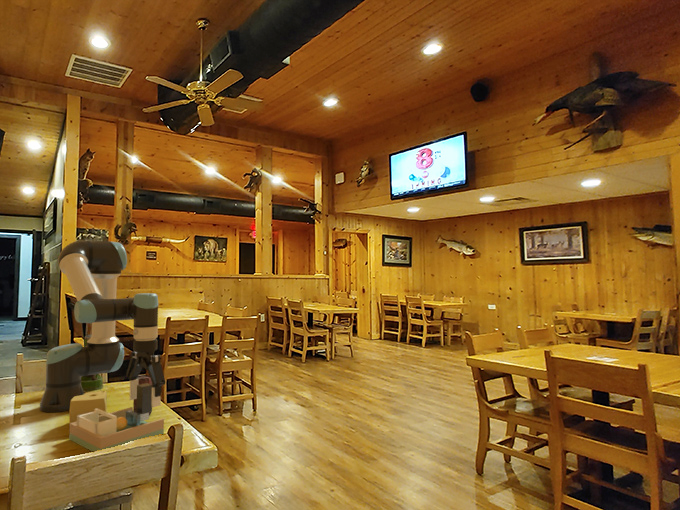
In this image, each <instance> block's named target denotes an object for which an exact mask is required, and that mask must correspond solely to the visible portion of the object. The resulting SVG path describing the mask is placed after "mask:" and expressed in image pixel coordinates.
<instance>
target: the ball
mask: <svg viewBox="0 0 680 510" xmlns="http://www.w3.org/2000/svg"><path fill="white" fill-rule="evenodd" d="M126 426H127V419H126V418H124V417H119V418H117V430H123V429H124V428H125V427H126Z"/></svg>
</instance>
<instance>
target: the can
mask: <svg viewBox="0 0 680 510" xmlns="http://www.w3.org/2000/svg"><path fill="white" fill-rule="evenodd" d="M138 379H139V382H138V385H141V384H145V383H148V384H151V385H152V386H153V383H152V381H151V378H150V376H149V374H148V375H138ZM132 408H133V412H136V410H137V399H134V400H133V407H132ZM136 413H137V412H136ZM150 415H152V412H149V417H150Z"/></svg>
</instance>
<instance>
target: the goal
mask: <svg viewBox="0 0 680 510" xmlns="http://www.w3.org/2000/svg"><path fill="white" fill-rule="evenodd" d="M110 413H111V412H107V411H106V412H105V411H103V410H100V409H98V408H96V409H95V411H94V412H90V413H86V414H82V415H78V416H77V426H79V427H81V428H83V429H85V430H87V431H89V432H92V433H94V434H96V435H97V434H99V435H101V436H106V435H109V434H112V433H116V429H117V416H115V415H113V414H110ZM99 414H102V415H104V416H107V417H109V418H112V419H109V420H106V421H102V422H99Z"/></svg>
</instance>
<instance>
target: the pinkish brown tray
mask: <svg viewBox="0 0 680 510" xmlns="http://www.w3.org/2000/svg"><path fill="white" fill-rule="evenodd" d="M128 410H130V411H133V407H127V408H123V409H120V410H115V411H112V412H109V413H110V414H113V415H115V416H117V418H119V417H124V418H126V411H128ZM109 419H112V418H109V417H107V416H104V415H100V416H99V422H102V421H106V420H109ZM164 429H165V419H164V418H159V419H156V420H152V421H149V422H148V421H147V420H144V421H141V422H140V425H139V426H136V427H134V426H131V425H129V424H127V426H126V427H125V428H124V429H123V430H117V429H116V433H112V434H109V435H106V436H101V435H99V434H97V435H96V434H94V433H92V432H89V431H87V430H85V429H83V428H81V427H79V426H77V422H73V423H70V422H69V438H68V439H69V440H70V441H71V442H73V443H75V444H78V445H79V446H81V447H83V448H85V449H87V450H88V449H89V451H90V452H92V451H97V450H102V449H106V448H111V447H115V446H118V445H122V444H125V443H128V442H130V441H134V440H137V439H141V438H145V437H149V436H155V435H159V434H164V431H165V430H164Z"/></svg>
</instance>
